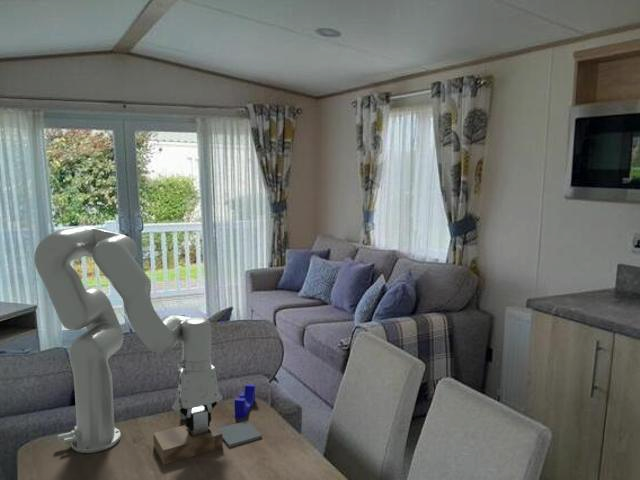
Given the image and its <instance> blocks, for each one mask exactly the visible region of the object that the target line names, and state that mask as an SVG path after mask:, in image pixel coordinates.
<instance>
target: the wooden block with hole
mask: <svg viewBox="0 0 640 480" xmlns="http://www.w3.org/2000/svg"><path fill="white" fill-rule="evenodd" d="M153 448H154V449H155V451H156V453H157V455H158V457H159V459H160V461H161V463H162V464H163V465H167V464H168V465H169V464H171V463H175V462H177V461H178V462H179V461H181V460H184V459H188V458H191V457H195V456H198V455H202V454H204V453H208V452H211V451H214V450H215V451H216V450H218V449H222V448H223V440H222V433H221V432H220V430H219V429H218V427H217V426H216V424H215V423H214V422H213V421H212V420H211V422H210V426H209V427H208V433H207V434H204V435H200V436H196V437H193V438H192V437H191V436H190V434H189V428H187V427H186V424H184V425H179V426H176V427H172V428H168V429H163V430H160V431H156V432H153Z"/></svg>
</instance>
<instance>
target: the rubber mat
mask: <svg viewBox="0 0 640 480" xmlns="http://www.w3.org/2000/svg"><path fill="white" fill-rule="evenodd" d="M217 428H218V427H217ZM218 429H219V430H220V432H221V433H222V442H224V443H225V444H226V446H227V447H228V448H232V447H236V446H239V445H243V444H247V443H248V442H249V443H250V442H253V441H256V440H259V439H262V438H263V435H262V434H261V433H260V431H259V430H257V428H256V427H255V426H254V425H253V424H252V423H251V422H250V421H249V420H245V421H240V422H237V423H233V424H229V425H226V426H225V425H224V426H223V427H219V428H218Z"/></svg>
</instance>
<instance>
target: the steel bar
mask: <svg viewBox="0 0 640 480" xmlns="http://www.w3.org/2000/svg"><path fill="white" fill-rule="evenodd" d="M191 415H192V417H193V431H190V430H189V434H190V436H191V437H192V438H193V437H196V436H200V435H204V434H207V433H208V411H207V410H206V409H205V408H204V406H199V407H195V408H192V413H191Z"/></svg>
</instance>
